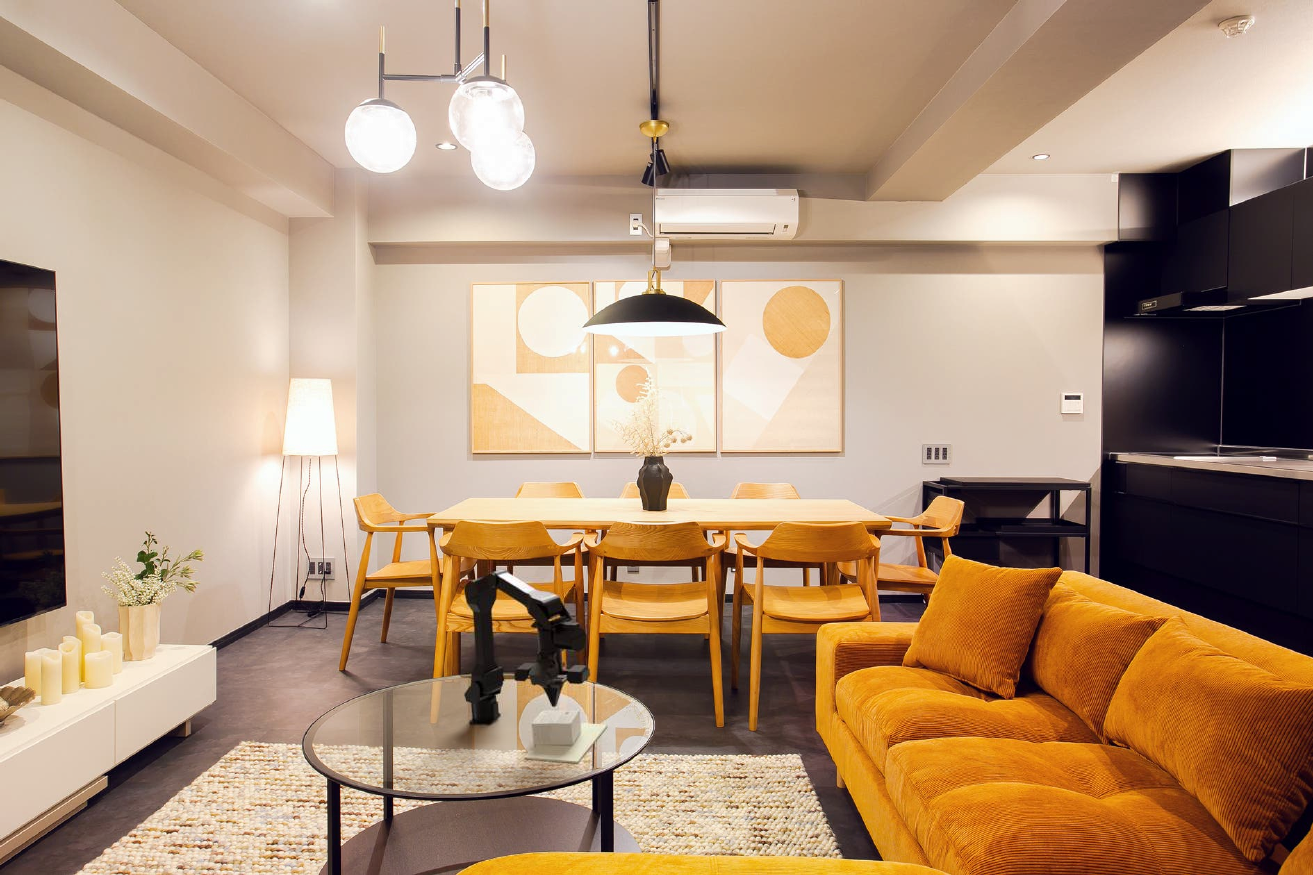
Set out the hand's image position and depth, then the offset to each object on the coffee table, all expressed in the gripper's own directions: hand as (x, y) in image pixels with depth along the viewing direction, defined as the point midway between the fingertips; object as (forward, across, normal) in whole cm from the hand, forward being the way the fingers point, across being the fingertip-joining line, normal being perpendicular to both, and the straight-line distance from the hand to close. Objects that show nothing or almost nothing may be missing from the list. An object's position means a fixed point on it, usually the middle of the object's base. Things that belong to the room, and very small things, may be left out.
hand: (554, 706), depth 182 cm
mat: (+9, +3, 0) cm, 9 cm away
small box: (+6, -6, 0) cm, 8 cm away
